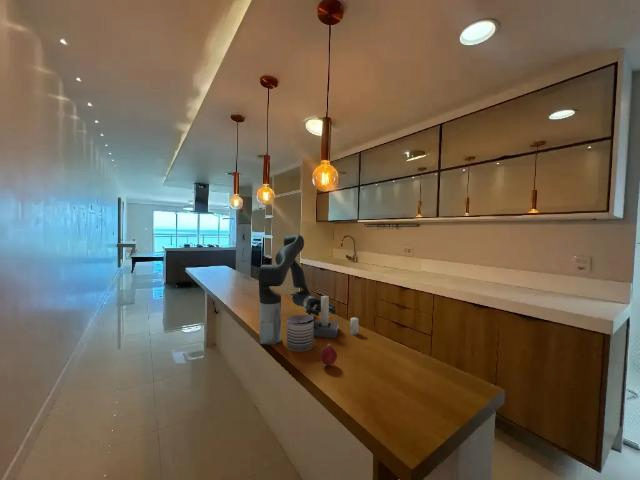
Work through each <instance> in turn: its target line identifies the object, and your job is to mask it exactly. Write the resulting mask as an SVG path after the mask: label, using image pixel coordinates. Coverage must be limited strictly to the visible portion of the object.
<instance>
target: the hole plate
mask: <svg viewBox="0 0 640 480" xmlns="http://www.w3.org/2000/svg"><path fill="white" fill-rule="evenodd" d="M313 320H314V319H313ZM338 332H339V321H336V320H329V324H328V327H321V319H320V320H319V319H315V320H314V334H313V337H315V338H316V337H317V338H318V337H319V338H331V339H333V338H334V339H336V338H337V335H338Z"/></svg>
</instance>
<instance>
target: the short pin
mask: <svg viewBox="0 0 640 480" xmlns="http://www.w3.org/2000/svg"><path fill="white" fill-rule="evenodd" d="M350 335H352V336H356V335H359V318H357V317H351V318H350Z"/></svg>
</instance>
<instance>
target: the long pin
mask: <svg viewBox="0 0 640 480" xmlns="http://www.w3.org/2000/svg"><path fill="white" fill-rule="evenodd" d="M329 300H330V298H329V296H328V295H321V296H320V301H321V312H320V320H321V327H328V324H329V321H330V320H329V318H330V317H329V316H330V314H329V313H330V312H329V304H330V301H329Z"/></svg>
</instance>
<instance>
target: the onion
mask: <svg viewBox="0 0 640 480" xmlns="http://www.w3.org/2000/svg"><path fill="white" fill-rule="evenodd" d="M337 357H338V353H337V351H336V349H335V348H334V347H332V345H331V343H328V344H327V345H326V346H324V347H323V349H322V350H321V353H320V360H321V362H322V363H323V364H324V365H326V366H328V367H330V366H332V365H333V364H334V363H335V362H336V361H337Z"/></svg>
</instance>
